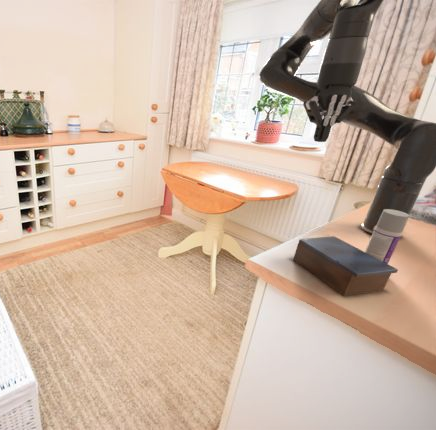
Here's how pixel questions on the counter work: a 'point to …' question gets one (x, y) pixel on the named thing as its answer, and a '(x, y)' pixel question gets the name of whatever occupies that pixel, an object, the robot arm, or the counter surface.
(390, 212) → the container
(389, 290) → the counter surface
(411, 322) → the counter surface
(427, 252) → the counter surface
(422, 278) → the counter surface
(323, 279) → the case
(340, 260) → the cover
